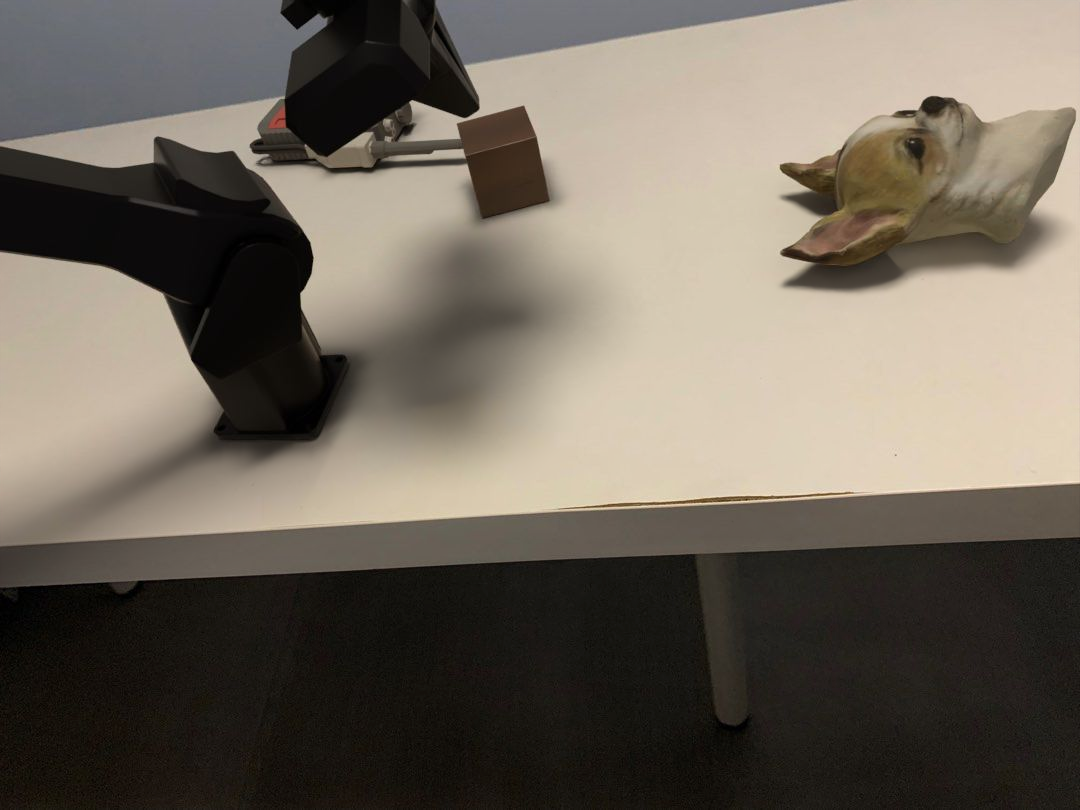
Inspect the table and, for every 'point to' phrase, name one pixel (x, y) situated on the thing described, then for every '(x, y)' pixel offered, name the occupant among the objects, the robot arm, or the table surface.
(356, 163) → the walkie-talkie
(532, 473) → the table surface
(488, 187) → the walnut block
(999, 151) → the ceramic sculpture
